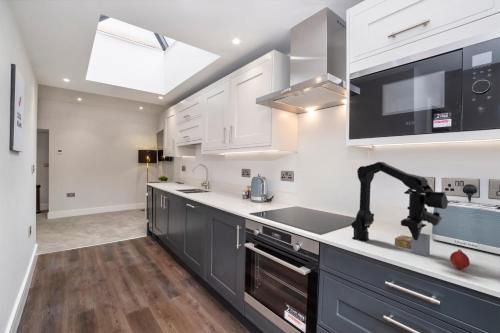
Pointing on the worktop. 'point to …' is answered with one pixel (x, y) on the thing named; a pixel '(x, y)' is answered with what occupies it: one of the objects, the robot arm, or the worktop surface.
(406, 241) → the walnut block
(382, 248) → the worktop surface
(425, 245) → the grey block
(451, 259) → the onion
